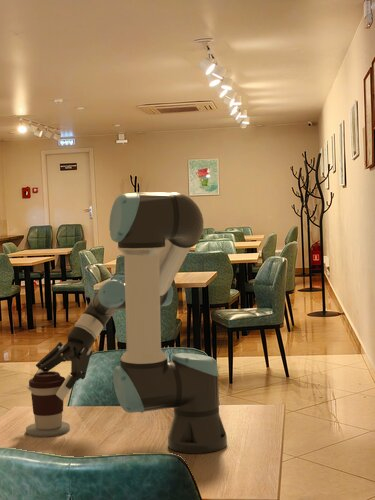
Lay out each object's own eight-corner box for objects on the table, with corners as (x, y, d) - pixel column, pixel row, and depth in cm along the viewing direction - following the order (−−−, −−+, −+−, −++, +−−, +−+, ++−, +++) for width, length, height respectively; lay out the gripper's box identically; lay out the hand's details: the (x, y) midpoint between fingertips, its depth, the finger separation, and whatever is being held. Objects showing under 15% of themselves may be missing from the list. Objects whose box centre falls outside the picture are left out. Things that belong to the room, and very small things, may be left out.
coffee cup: (70, 421, 209) (68, 369, 208) (61, 432, 199) (59, 377, 198) (36, 422, 209) (34, 370, 209) (26, 432, 200) (23, 377, 199)
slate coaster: (75, 433, 202) (75, 428, 201) (32, 440, 196) (32, 435, 196) (62, 422, 212) (62, 418, 212) (21, 429, 207) (21, 424, 207)
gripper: (120, 344, 207) (80, 408, 197) (66, 337, 225) (27, 395, 214) (105, 328, 203) (63, 392, 193) (51, 322, 220) (10, 380, 210)
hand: (44, 394), depth 204 cm, fingers open, 13 cm apart
